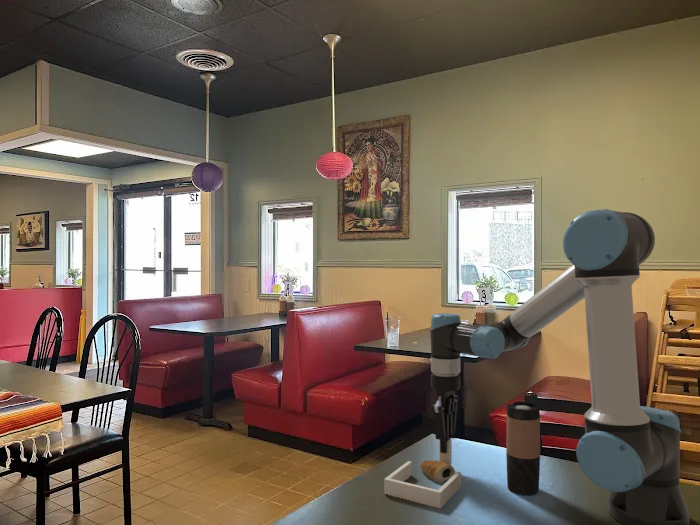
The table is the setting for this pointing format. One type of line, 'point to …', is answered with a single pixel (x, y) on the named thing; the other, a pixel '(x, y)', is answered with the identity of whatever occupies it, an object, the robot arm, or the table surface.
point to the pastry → (437, 470)
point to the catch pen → (420, 488)
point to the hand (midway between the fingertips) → (445, 463)
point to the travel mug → (523, 448)
